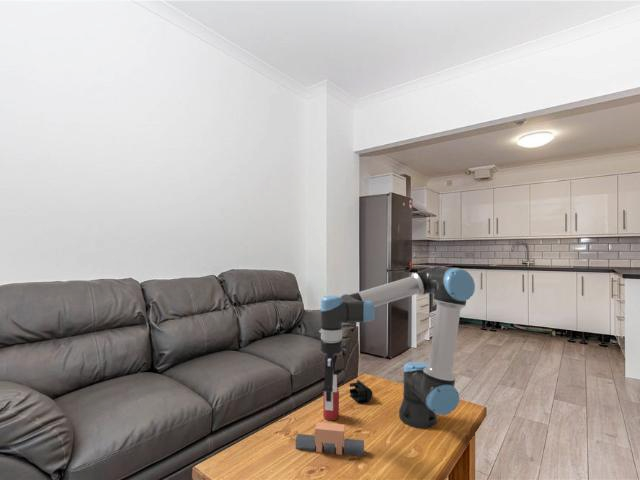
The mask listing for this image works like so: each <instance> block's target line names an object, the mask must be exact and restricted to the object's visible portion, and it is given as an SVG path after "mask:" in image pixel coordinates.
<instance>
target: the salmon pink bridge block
mask: <svg viewBox="0 0 640 480" xmlns="http://www.w3.org/2000/svg"><path fill="white" fill-rule="evenodd" d="M345 426H346V425H345V424H341V423H331V422H319V421H317V422H316V424H315V426H314V427H315V429H314V435H315V442H316V448H315V452H316V453H323V450H324V443H332V444H336V448H335V454H336V455H340V456H342V455H343V451H344V439H345Z"/></svg>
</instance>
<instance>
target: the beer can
mask: <svg viewBox="0 0 640 480" xmlns="http://www.w3.org/2000/svg"><path fill="white" fill-rule="evenodd" d="M322 404H323V409H322V410H323V411H322V412H323V413H322V414H323V415H322V416H323V418H324V419H325V420H327V421H335V420H337V419H338V418H339V416H340V391H339V387H337V392H333V411H331V410H325V392H324V391H323V403H322Z"/></svg>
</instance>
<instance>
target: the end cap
mask: <svg viewBox="0 0 640 480" xmlns="http://www.w3.org/2000/svg"><path fill="white" fill-rule="evenodd" d="M349 387H350V388H351V389H349V396H350V398H352V399H353V401H355V403H356V404H358V405H361V404H366V403H368V402H369V401H371V399H372V398H373V391H372V389H371V388H369V387H368V386H367V385H366V384H364V383H363V382H362V381H361V380H356V382H352V383H351V382H350V383H349ZM352 387H354V388H352Z"/></svg>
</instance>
